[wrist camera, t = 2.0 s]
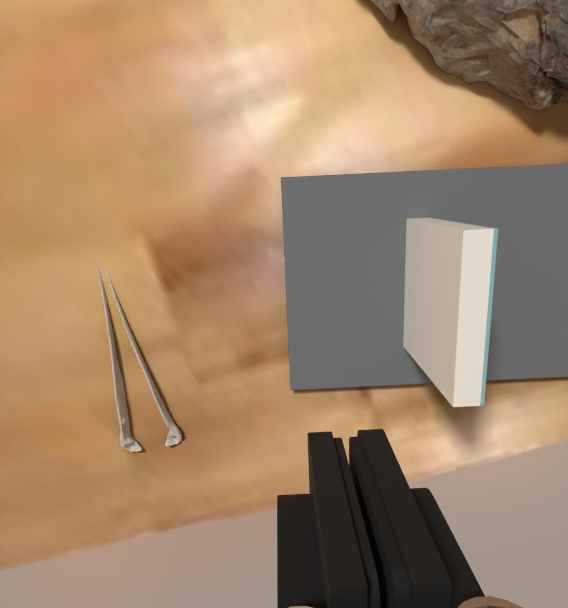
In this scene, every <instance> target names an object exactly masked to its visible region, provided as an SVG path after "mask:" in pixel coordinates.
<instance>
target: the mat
mask: <svg viewBox="0 0 568 608" xmlns="http://www.w3.org/2000/svg"><path fill="white" fill-rule="evenodd" d="M281 188H282V210H283V232H284V253H285V275H286V297H287V319H288V341H289V362H290V384H291V390H302V389H323V388H343V387H364V386H384V385H405V384H426V383H433V382H432V381H431V380H430V378H429V377H428V376H427V375H426V373H425V372H424V371H423V370H422V369H421V367H420V366H419V365H418V364H417V362H416V361H415V360H414V359H413V358H412V356H411V355H410V354H409V353H408V351H407V350H406V349H405V348H404V347H403V337H404V298H405V260H406V221H407V219H409V218H430V217H431V218H437V219H443V220H449V221H455V222H461V223H468V224H474V225H480V226H486V227H492V228H498V237H497V250H496V263H495V275H494V288H493V300H492V313H491V325H490V338H489V350H488V363H487V376H486V381H487V380H508V379H529V378H549V377H568V164H554V165H533V166H512V167H491V168H470V169H449V170H428V171H407V172H386V173H365V174H344V175H323V176H302V177H281Z"/></svg>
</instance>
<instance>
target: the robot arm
mask: <svg viewBox="0 0 568 608" xmlns="http://www.w3.org/2000/svg"><path fill="white" fill-rule="evenodd" d="M308 458H309V486H310V494H295V495H278V497H277V510H278V511H277V514H278V515H277V523H278V524H277V528H278V530H277V540H278V541H277V542H278V544H277V545H278V547H277V548H278V551H277V554H278V608H522V607H520V606H518V605H515V604H513V603H511V602H509V601H507V600H503V599H499V598H494V597H490V596H489V597H485V595H484V594H483V592H482V590H481V588H480V586H479V584H478V582H477V580H476V578H475V576H474V574H473V572H472V570H471V568H470V566H469V564H468V563H467V561H466V559H465V557H464V555H463V553H462V551H461V550H460V547H459V545H458V543H457V541H456V539H455V537H454V536H453V533H452V532H451V530H450V528H449V526H448V524H447V522H446V520H445V518H444V516H443V514H442V512H441V510H440V508H439V506H438V504H437V502H436V501H435V499H434V497H433V495H432V493H431V492H430V490H429V489H427V488H414V489H410V488H409V485H408V483H407V481H406V479H405V477H404V474H403V472H402V470H401V468H400V465H399V463H398V461H397V459H396V457H395V454H394V452H393V450H392V448H391V445H390V443H389V441H388V439H387V437H386V434H385V432H384V430H383V429H372V430H358V434H357V437H350V439H349V464H348V460H347V457H346V453H345V449H344V445H343V441H342V438H333V435H332V432H313V433H308Z"/></svg>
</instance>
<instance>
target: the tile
mask: <svg viewBox="0 0 568 608" xmlns="http://www.w3.org/2000/svg"><path fill="white" fill-rule="evenodd" d="M497 237H498V228H492V227H486V226H480V225H474V224H468V223H461V222H455V221H449V220H443V219H437V218H431V217H430V218H409V219H407V221H406V260H405V298H404V337H403V347H404V348H405V349H406V350H407V351H408V353H409V354H410V355H411V356H412V358H413V359H414V360H415V361H416V362H417V364H418V365H419V366H420V367H421V369H422V370H423V371H424V372H425V373H426V375H427V376H428V377H429V378H430V380H431V381H432V382H433V383H434V384H435V386H436V387H437V388H438V389H439V391H440V392H441V393H442V394H443V395H444V397H445V398H446V399H447V400H448V402H449V403H450V404H451V405H452V407H466V406H484V401H485V388H486V376H487V363H488V350H489V338H490V325H491V313H492V300H493V288H494V275H495V263H496V250H497Z"/></svg>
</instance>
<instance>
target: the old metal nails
mask: <svg viewBox="0 0 568 608" xmlns="http://www.w3.org/2000/svg"><path fill="white" fill-rule="evenodd" d="M97 271H98V276H99V281H100V287H101V292H102V298H103V304H104V309H105V318H106V325H107V330H108V337H109V344H110V353H111V361H112V371H113V381H114V391H115V402H116V407H117V412H118V417H119V422H120V429H121V435H120V438H119V439H120V442H121V447H124V449H126V450H129V451H131V452H133V451H135V452H137V451H141V450H142V447H141V446H140V445H139V444H138V443H137V442H136V441H135V440H134V439H133V437H132V436H131V431H130V424H129V416H128V409H127V403H126V397H125V391H124V386H123V378H122V375H121V372H120V369H119V364H118V359H117V355H116V349H115V342H114V335H113V329H112V326H111V325H112V323H111V320H110V313H109V311H108V301H107V298H106V294H105V291H104V286H103V282H102V279H101V275H100V272H99V269H98V266H97ZM106 273H107V272H106ZM107 277H108V280H109V283H110V287H111V291H112V294H113V298H114V300H115V302H116V304H117V307H118V310H119V313H120V315H121V318H122V321H123V324H124V326H125V329H126V332H127V334H128V337H129V339H130V342H131V344H132V347H133V350H134V352H135V354H136V356H137V359H138V361H139V363H140V365H141V367H142V370H143V372H144V374H145V377H146V379H147V381H148V384H149V386H150V389H151V392H152V395H153V397H154V400H155V402H156V404H157V406H158V408H159V410H160V413H161V415H162V417H163V418H164V420H165V423H166V425H167V427H168V428H170V431H169V434H168V436H167V441H166V444H165V446H170V445H174V444H178V443H179V442H180V441H181V439H182V437H181V436H182V435H181V433H180V431H179V429H178V427H177V426H176V425H175V423H174V422H173V420H172V418H171V416H170V415H169V413H168V411H167V409H166V407H165V405H164V403H163V401H162V398H161V396H160V395H159V393H158V391H157V389H156V387H155V385H154V382H153V380H152V378H151V376H150V373H149V371H148V369H147V366H146V364H145V362H144V360H143V357H142V355H141V353H140V350H139V348H138V346H137V344H136V342H135V339H134V337H133V335H132V332H131V330H130V328H129V325H128V323H127V321H126V318H125V315H124V313H123V311H122V308H121V305H120V302H119V300H118V297H117V295H116V292H115V290H114V287H113V285H112V282H111V280H110V278H109V275H108V273H107ZM123 416H124V423H123V424H122V423H121V421H122V418H123Z"/></svg>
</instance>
